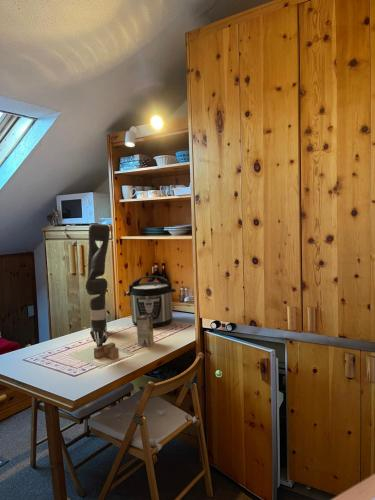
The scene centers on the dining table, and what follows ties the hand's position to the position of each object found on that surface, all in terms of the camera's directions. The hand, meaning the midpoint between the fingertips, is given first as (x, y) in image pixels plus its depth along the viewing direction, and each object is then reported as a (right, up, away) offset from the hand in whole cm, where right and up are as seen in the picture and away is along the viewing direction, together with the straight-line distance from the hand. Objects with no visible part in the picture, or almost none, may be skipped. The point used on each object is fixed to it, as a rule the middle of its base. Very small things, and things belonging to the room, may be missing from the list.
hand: (100, 350), depth 194 cm
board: (0, -3, 0) cm, 3 cm away
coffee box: (+22, -1, +15) cm, 26 cm away
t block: (+6, -2, -5) cm, 8 cm away
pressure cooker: (+21, +2, +59) cm, 63 cm away
